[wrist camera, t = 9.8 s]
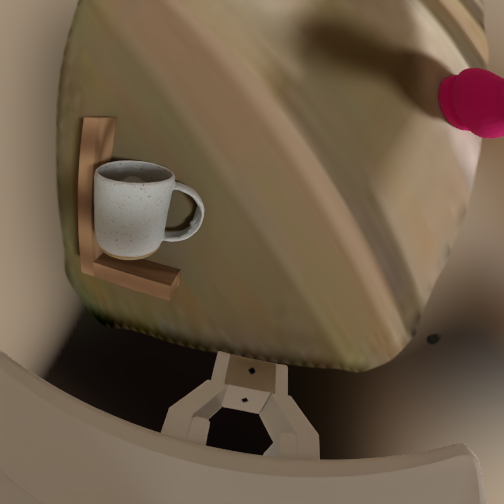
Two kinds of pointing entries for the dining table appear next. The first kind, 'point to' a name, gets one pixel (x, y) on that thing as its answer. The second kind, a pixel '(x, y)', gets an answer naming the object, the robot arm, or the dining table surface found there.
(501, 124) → the pepper mill
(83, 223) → the walnut stop
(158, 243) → the ceramic mug
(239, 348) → the dining table surface
